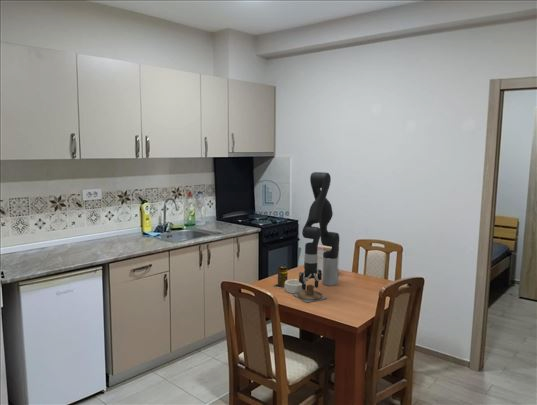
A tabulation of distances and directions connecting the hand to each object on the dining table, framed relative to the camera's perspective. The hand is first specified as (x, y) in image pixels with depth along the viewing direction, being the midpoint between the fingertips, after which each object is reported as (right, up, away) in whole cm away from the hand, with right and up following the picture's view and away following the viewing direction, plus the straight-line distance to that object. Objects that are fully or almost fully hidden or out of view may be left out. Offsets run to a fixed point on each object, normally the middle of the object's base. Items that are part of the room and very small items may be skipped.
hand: (310, 288), depth 243 cm
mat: (0, -5, +1) cm, 5 cm away
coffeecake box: (+16, 0, +48) cm, 51 cm away
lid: (0, -5, +1) cm, 4 cm away
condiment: (-16, -3, +20) cm, 26 cm away
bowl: (-8, -4, +12) cm, 15 cm away
